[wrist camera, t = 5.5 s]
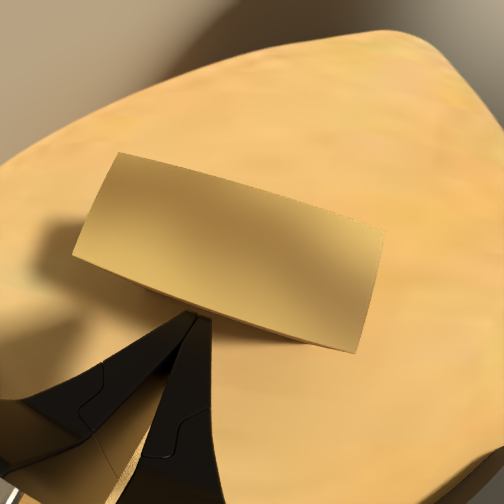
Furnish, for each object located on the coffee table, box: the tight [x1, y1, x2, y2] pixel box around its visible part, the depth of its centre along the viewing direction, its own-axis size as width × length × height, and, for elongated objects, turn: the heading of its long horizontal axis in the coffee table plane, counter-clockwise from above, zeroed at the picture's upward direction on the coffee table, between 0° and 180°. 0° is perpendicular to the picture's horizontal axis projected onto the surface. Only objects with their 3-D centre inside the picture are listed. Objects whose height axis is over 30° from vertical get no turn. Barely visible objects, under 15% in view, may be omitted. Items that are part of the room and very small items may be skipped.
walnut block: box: [72, 152, 386, 354], centre depth 14 cm, size 4×10×8 cm, turn 72°
